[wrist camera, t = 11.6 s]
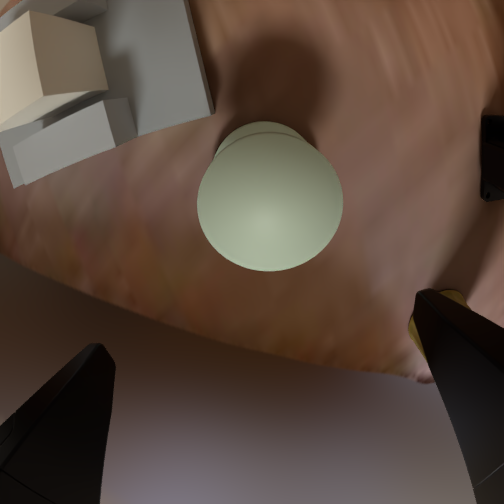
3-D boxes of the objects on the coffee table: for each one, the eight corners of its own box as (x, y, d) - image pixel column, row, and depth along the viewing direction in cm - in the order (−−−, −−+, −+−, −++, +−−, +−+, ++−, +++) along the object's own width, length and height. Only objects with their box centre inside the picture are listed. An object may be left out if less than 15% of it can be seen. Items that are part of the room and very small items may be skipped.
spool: (306, 113, 16) (333, 123, 11) (321, 208, 19) (347, 257, 14) (202, 133, 17) (179, 154, 11) (226, 226, 19) (218, 281, 14)
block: (94, 27, 11) (29, 10, 6) (108, 89, 13) (43, 96, 8) (39, 58, 12) (-32, 61, 7) (52, 116, 14) (-17, 137, 8)
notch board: (179, -35, 11) (158, -69, 7) (215, 112, 16) (202, 120, 12) (0, 58, 13) (-47, 62, 8) (30, 179, 17) (-14, 205, 13)
